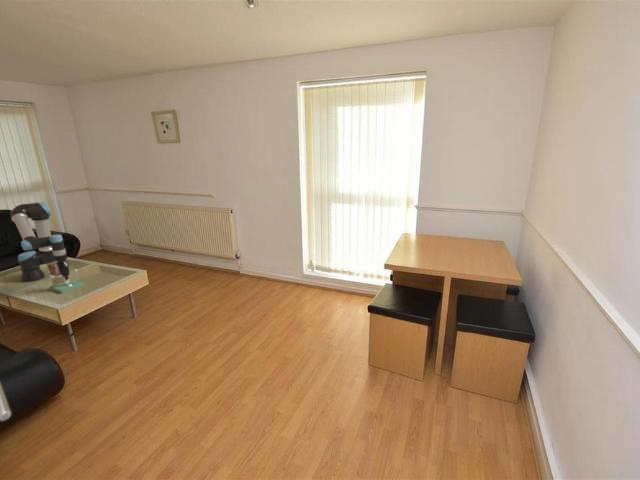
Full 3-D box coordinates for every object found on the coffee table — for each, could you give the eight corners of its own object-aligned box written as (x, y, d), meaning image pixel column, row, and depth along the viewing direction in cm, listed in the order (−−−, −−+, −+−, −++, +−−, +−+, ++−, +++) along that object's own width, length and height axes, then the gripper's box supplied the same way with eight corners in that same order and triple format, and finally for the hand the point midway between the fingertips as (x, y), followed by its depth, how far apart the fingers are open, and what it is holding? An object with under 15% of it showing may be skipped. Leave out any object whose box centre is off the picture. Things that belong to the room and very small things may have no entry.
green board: (50, 289, 244) (49, 286, 243) (73, 282, 257) (72, 279, 257) (62, 293, 236) (61, 290, 235) (85, 285, 249) (84, 282, 249)
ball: (66, 287, 244) (67, 284, 242) (71, 285, 247) (72, 282, 245) (68, 290, 243) (69, 287, 241) (73, 288, 246) (74, 285, 244)
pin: (78, 282, 250) (74, 266, 246) (79, 282, 250) (75, 265, 246) (80, 283, 248) (76, 266, 244) (81, 282, 249) (77, 266, 245)
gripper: (49, 255, 239) (57, 283, 245) (58, 257, 233) (66, 286, 239) (61, 252, 245) (68, 280, 251) (70, 254, 239) (77, 282, 246)
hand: (67, 283), depth 245 cm, fingers closed
